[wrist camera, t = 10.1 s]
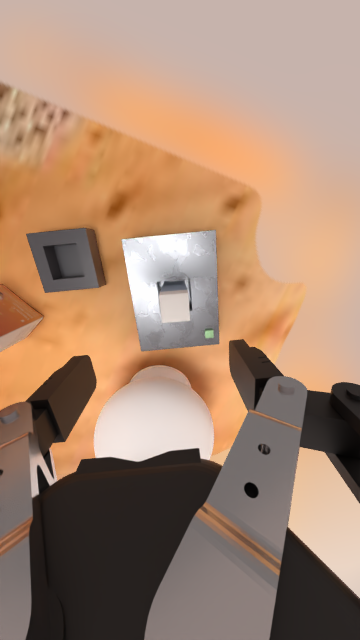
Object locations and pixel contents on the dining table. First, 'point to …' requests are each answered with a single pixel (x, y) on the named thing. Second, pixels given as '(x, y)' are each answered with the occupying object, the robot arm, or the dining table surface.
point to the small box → (15, 318)
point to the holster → (67, 259)
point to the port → (174, 265)
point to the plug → (174, 302)
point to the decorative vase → (154, 418)
